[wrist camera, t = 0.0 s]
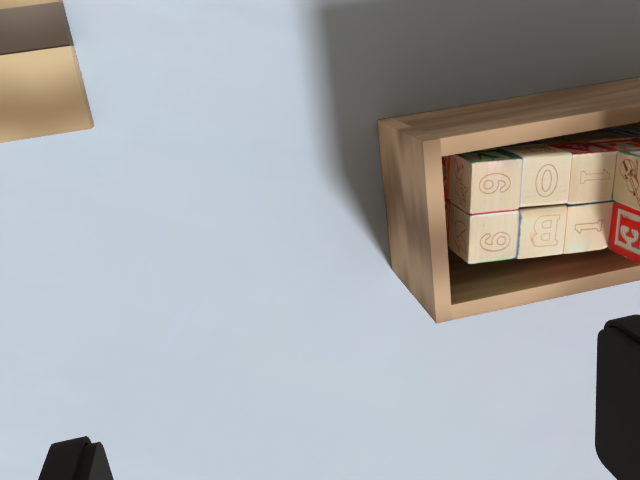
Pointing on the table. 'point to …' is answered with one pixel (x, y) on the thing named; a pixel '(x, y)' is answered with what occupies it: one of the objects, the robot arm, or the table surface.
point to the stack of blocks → (546, 197)
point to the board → (39, 72)
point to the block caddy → (429, 207)
